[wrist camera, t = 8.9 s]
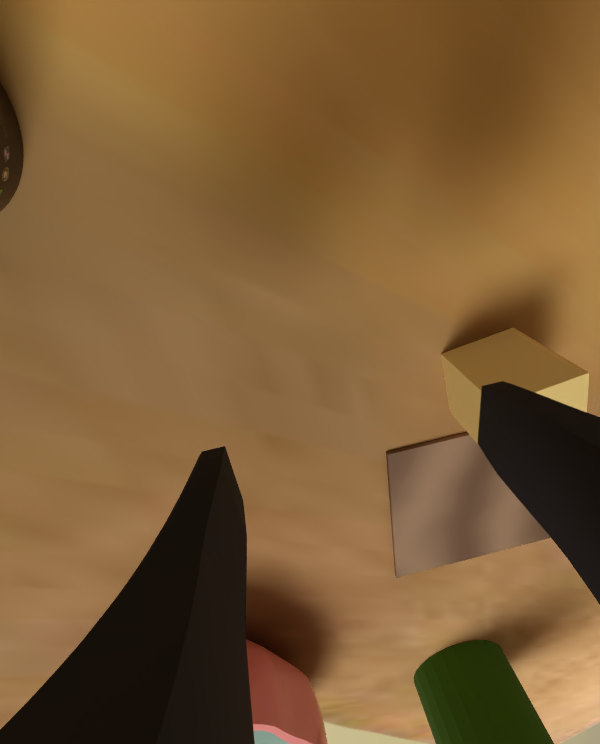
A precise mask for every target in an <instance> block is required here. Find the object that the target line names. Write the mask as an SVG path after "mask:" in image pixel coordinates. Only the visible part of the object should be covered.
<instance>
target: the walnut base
mask: <svg viewBox="0 0 600 744" xmlns="http://www.w3.org/2000/svg"><path fill="white" fill-rule="evenodd" d="M386 458H387V471H388V484H389V498H390V511H391V525H392V538H393V552H394V565H395V575H396V578H398V577H402V576H406V575H410V574H414V573H417V572H421V571H425V570H429V569H433V568H437V567H440V566H444V565H448V564H452V563H456V562H459V561H463V560H467V559H471V558H475V557H479V556H482V555H486V554H490V553H494V552H498V551H502V550H505V549H509V548H513V547H517V546H521V545H524V544H528V543H532V542H536V541H540V540H544V539H547V538H550V536H549V535H548V533H547V532H546V531H545V530H544V529H543V528H542V526H541V525H540V524H539V523H538V522H537V521H536V519H535V518H534V517H533V516H532V515H531V514H530V512H529V511H528V510H527V509H526V508H525V507H524V505H523V504H522V503H521V502H520V501H519V499H518V498H517V497H516V496H515V495H514V494H513V492H512V491H511V490H510V489H509V488H508V486H507V485H506V484H505V483H504V482H503V480H502V479H501V478H500V477H499V476H498V474H497V473H496V471H495V470H494V468H493V467H492V465H491V464H490V462H489V461H488V459H487V458H486V456H485V455H484V453H483V451H482V450H481V448H480V446H479V445H478V444H477V443H476V441H475V440H474V439H473V438H472V437H471V436H470V435H469V433H468V432H466V433H462V434H458V435H453V436H449V437H445V438H441V439H437V440H433V441H429V442H424V443H420V444H416V445H412V446H408V447H404V448H400V449H395V450H391V451H387V452H386Z"/></svg>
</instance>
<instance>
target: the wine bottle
mask: <svg viewBox="0 0 600 744" xmlns="http://www.w3.org/2000/svg"><path fill="white" fill-rule="evenodd" d="M414 683H415V686H416V689H417V692H418V694H419V697H420V700H421V703H422V706H423V708H424V711H425V714H426V717H427V720H428V723H429V725H430V728H431V731H432V734H433V737H434V739H435V742H436V744H554V743H553V741H552V739H551V737H550V735H549V734H548V732H547V730H546V728H545V726H544V725H543V723H542V721H541V719H540V718H539V716H538V714H537V712H536V710H535V709H534V707H533V705H532V703H531V701H530V700H529V698H528V696H527V694H526V692H525V691H524V689H523V687H522V685H521V683H520V682H519V680H518V678H517V676H516V674H515V673H514V671H513V669H512V667H511V665H510V664H509V662H508V660H507V658H506V657H505V655H504V653H503V651H502V649H501V648H500V646H499V645H497V644H496V643H494V642H491V641H486V640H474V641H468V642H463V643H459V644H456V645H453V646H450V647H448V648H445V649H443V650H441V651H439V652H437V653H436V654H434V655H433V656H431V657H429V658H428V659H427V660H426V661H425V662H423V663H422V664H421V665H420V667H419V668H418V669H417V671H416V673H415V676H414Z"/></svg>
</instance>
